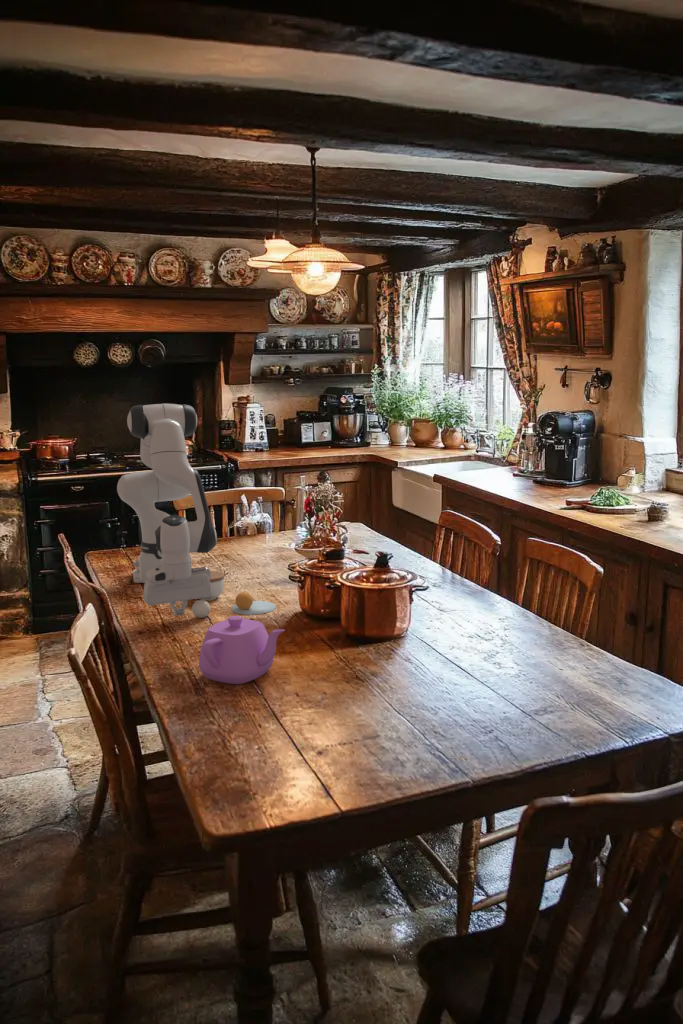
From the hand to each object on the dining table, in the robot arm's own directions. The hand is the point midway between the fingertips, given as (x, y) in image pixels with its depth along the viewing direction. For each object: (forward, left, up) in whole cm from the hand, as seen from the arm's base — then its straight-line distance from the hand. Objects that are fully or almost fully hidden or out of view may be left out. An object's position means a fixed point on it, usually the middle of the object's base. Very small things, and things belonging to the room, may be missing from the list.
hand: (179, 614), depth 260 cm
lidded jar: (-18, +15, -2) cm, 24 cm away
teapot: (+51, +1, -2) cm, 51 cm away
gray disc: (0, +24, -2) cm, 24 cm away
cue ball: (+1, +6, +1) cm, 7 cm away
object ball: (0, +21, +1) cm, 21 cm away
